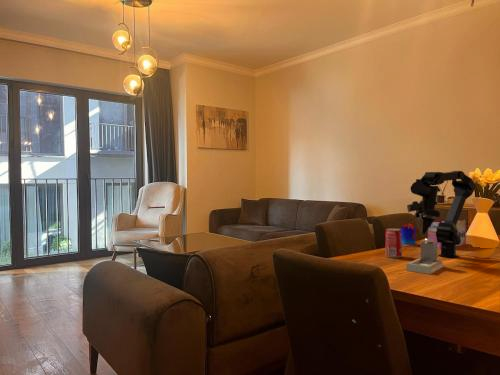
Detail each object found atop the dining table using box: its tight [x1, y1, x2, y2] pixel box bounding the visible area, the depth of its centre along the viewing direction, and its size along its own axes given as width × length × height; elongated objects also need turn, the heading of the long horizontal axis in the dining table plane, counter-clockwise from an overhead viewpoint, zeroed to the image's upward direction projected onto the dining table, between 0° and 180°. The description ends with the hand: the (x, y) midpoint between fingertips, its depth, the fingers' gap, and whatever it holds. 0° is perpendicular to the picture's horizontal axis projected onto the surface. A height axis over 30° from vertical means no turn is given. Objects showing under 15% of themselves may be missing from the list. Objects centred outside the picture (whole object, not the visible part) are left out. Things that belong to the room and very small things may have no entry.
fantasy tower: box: [400, 223, 421, 248], centre depth 212 cm, size 12×12×12 cm
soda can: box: [385, 228, 403, 259], centre depth 181 cm, size 7×7×13 cm
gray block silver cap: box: [420, 237, 438, 264], centre depth 161 cm, size 5×5×10 cm
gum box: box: [427, 219, 467, 250], centre depth 211 cm, size 24×8×14 cm, turn 120°
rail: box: [405, 257, 445, 275], centre depth 159 cm, size 17×9×3 cm, turn 137°
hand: (423, 233), depth 172 cm, fingers closed
